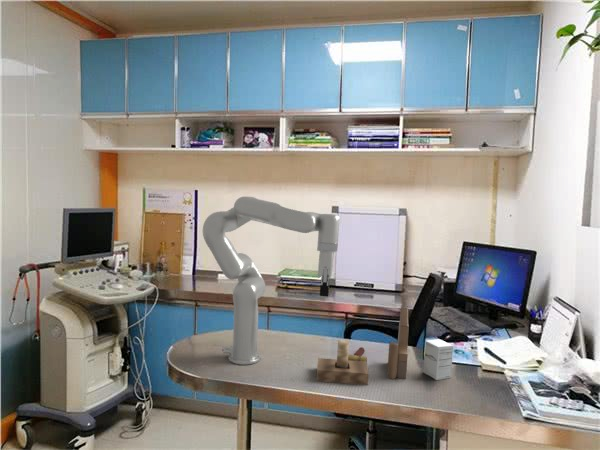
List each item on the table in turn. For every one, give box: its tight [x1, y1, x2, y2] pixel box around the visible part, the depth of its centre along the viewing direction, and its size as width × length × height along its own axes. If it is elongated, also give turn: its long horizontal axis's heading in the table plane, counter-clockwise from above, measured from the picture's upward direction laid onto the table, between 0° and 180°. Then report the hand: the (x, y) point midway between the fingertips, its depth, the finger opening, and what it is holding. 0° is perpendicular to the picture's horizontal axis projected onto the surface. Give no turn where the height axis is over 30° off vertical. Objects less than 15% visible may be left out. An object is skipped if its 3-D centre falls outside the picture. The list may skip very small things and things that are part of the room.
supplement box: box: [423, 338, 454, 381], centre depth 156 cm, size 7×7×13 cm
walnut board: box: [316, 357, 370, 386], centre depth 152 cm, size 18×11×4 cm, turn 86°
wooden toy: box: [387, 306, 410, 379], centre depth 158 cm, size 16×7×25 cm, turn 169°
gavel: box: [348, 347, 368, 365], centre depth 170 cm, size 21×5×10 cm
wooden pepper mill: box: [336, 339, 350, 369], centre depth 151 cm, size 4×4×12 cm
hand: (323, 295), depth 156 cm, fingers closed
